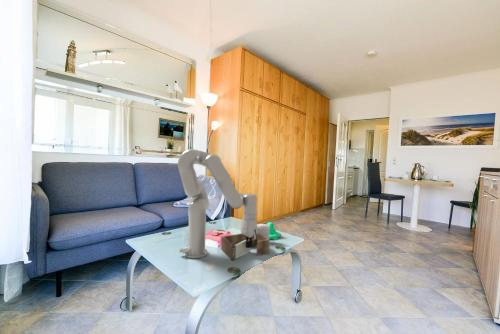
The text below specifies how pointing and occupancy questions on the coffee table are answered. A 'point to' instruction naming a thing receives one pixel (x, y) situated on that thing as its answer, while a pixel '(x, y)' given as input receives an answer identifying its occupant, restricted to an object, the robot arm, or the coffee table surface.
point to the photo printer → (263, 230)
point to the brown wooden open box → (232, 240)
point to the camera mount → (273, 232)
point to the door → (240, 249)
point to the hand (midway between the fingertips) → (248, 247)
